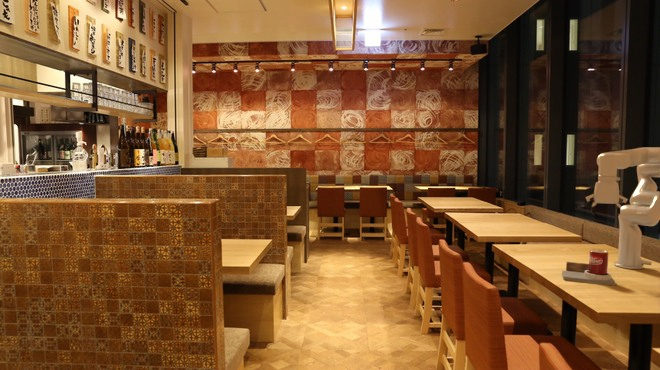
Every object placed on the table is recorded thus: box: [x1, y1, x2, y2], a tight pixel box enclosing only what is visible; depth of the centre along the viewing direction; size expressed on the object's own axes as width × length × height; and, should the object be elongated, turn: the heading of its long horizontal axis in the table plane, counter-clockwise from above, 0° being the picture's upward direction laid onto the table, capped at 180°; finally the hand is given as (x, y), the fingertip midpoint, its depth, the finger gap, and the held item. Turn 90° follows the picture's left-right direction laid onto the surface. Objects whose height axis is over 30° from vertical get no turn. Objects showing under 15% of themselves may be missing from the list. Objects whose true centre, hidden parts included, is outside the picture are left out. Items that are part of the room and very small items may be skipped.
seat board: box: [561, 270, 616, 286], centre depth 209 cm, size 20×12×4 cm, turn 66°
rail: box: [565, 261, 589, 273], centre depth 218 cm, size 16×2×5 cm, turn 66°
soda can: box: [588, 248, 609, 275], centre depth 207 cm, size 7×7×12 cm
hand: (605, 215), depth 219 cm, fingers open, 9 cm apart
